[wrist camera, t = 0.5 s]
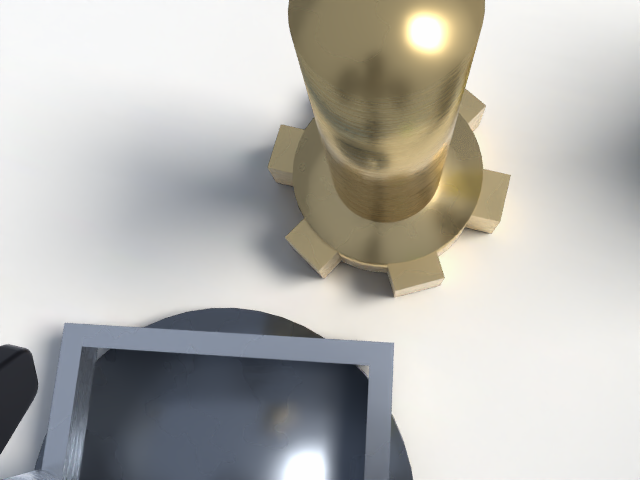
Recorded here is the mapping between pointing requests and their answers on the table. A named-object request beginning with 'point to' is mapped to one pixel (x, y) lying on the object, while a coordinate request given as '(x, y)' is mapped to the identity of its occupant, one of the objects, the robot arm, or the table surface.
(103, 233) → the table surface
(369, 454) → the carrier plate
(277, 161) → the planet gear
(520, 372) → the table surface
